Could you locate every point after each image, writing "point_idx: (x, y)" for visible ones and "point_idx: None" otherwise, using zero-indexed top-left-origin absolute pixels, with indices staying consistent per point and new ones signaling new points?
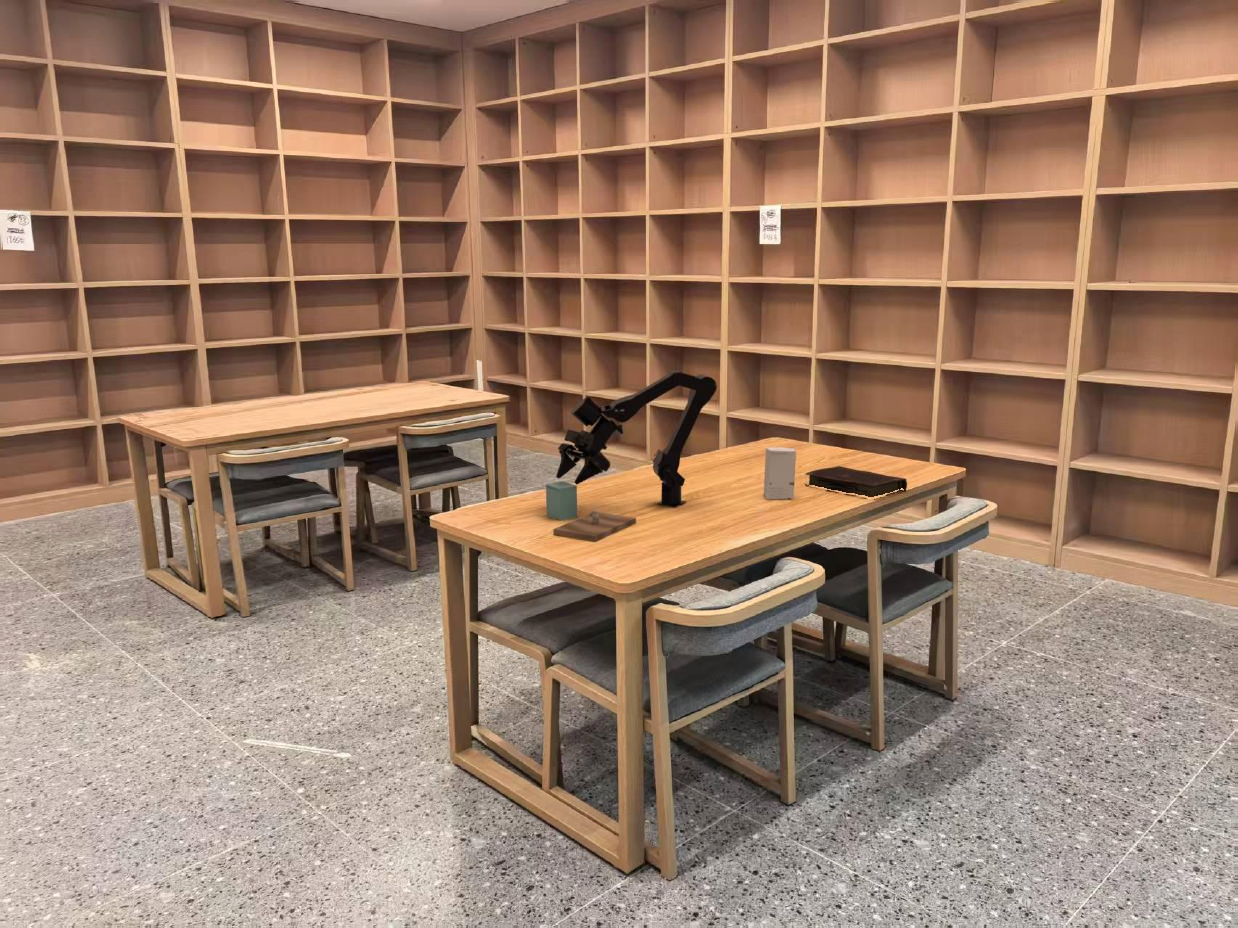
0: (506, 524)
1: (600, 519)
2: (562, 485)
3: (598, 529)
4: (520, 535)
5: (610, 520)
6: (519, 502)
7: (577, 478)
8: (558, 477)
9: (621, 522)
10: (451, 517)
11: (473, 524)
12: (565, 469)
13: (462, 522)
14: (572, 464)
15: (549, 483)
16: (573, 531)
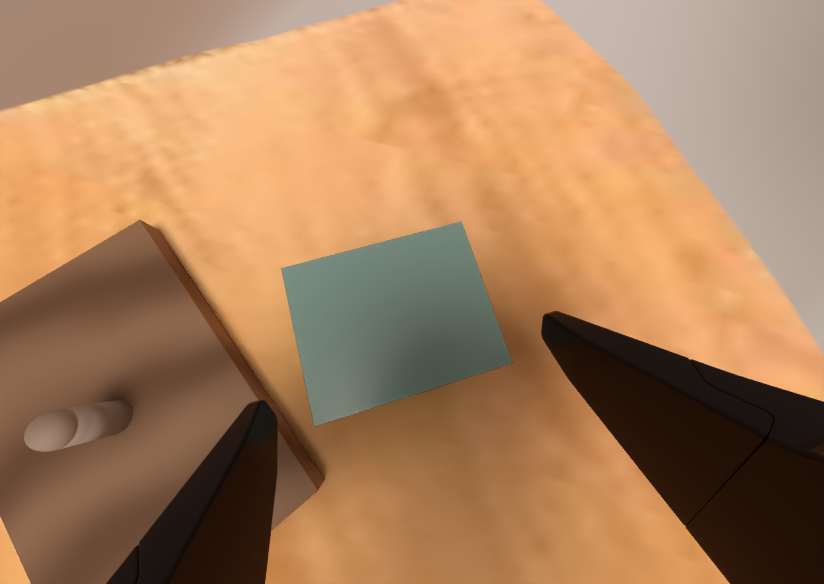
0: (370, 127)
1: (166, 465)
2: (369, 317)
3: (11, 395)
4: (215, 132)
5: (118, 512)
6: (667, 240)
7: (223, 438)
8: (544, 331)
9: (48, 560)
10: (517, 13)
11: (412, 46)
12: (631, 422)
13: (448, 26)
14: (751, 570)
15: (470, 249)
16: (56, 281)
